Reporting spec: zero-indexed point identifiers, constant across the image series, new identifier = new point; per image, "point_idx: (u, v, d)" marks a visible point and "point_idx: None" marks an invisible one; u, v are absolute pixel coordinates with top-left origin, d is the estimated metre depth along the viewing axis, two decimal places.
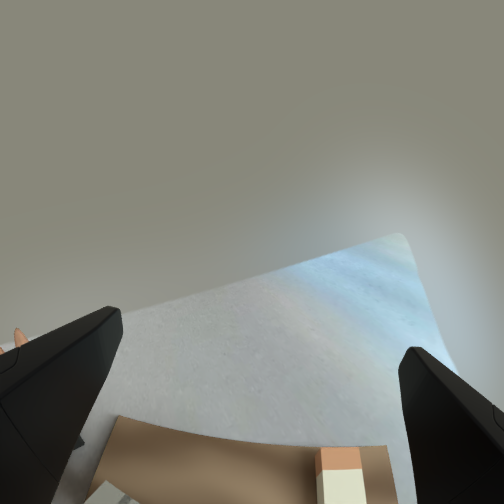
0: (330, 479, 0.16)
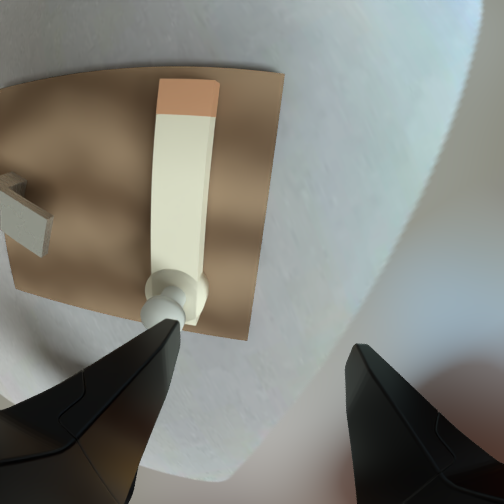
0: (163, 129, 0.15)
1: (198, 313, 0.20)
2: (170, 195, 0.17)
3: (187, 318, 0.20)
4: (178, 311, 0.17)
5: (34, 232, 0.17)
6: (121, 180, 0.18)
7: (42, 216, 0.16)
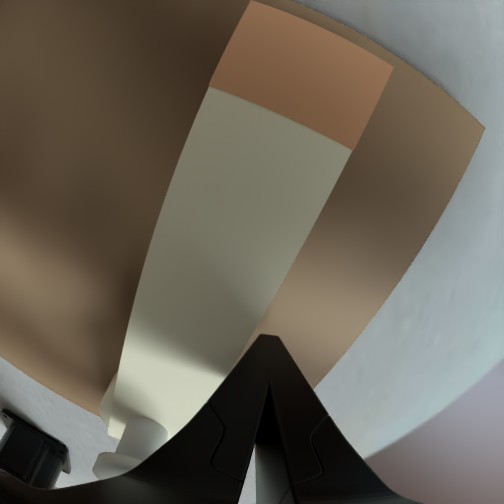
0: (217, 133, 0.06)
1: None
2: (185, 296, 0.07)
3: None
4: None
5: None
6: (86, 204, 0.08)
7: None
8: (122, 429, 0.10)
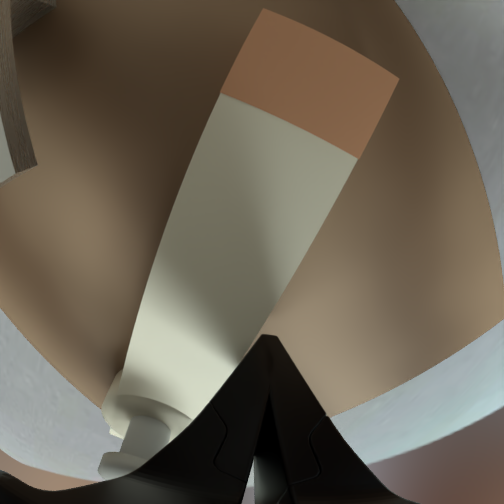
0: (228, 140, 0.06)
1: None
2: (192, 298, 0.07)
3: None
4: None
5: None
6: None
7: (11, 151, 0.05)
8: (124, 428, 0.10)
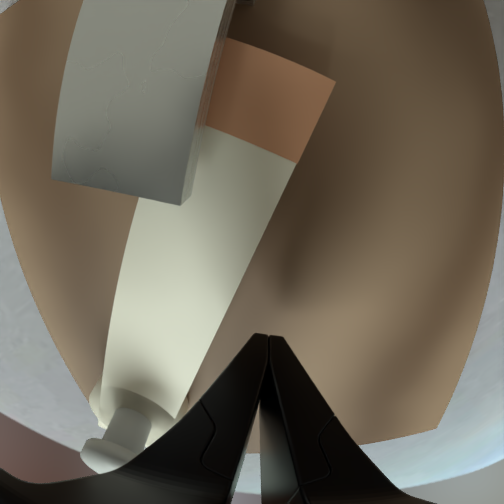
0: None
1: None
2: (156, 296, 0.08)
3: (149, 443, 0.11)
4: None
5: (117, 143, 0.05)
6: (299, 300, 0.10)
7: (184, 179, 0.05)
8: (110, 420, 0.11)
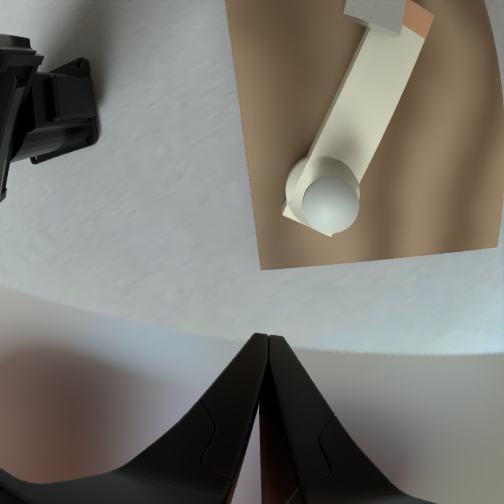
0: None
1: None
2: (369, 84, 0.14)
3: None
4: (358, 200, 0.14)
5: (377, 10, 0.11)
6: (420, 113, 0.15)
7: (401, 27, 0.11)
8: (300, 201, 0.16)
